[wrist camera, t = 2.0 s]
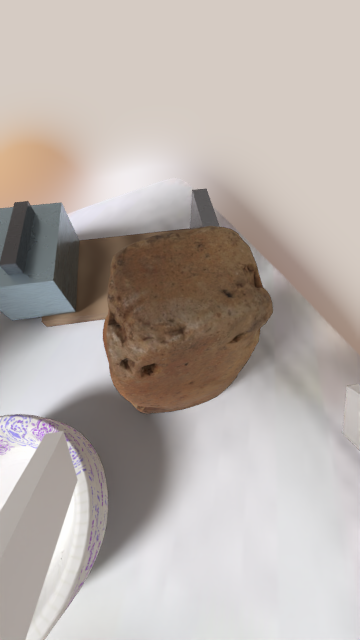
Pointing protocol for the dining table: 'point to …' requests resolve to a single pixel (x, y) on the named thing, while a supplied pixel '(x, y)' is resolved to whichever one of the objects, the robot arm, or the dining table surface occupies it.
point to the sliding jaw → (37, 261)
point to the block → (182, 317)
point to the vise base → (98, 261)
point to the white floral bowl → (81, 519)
